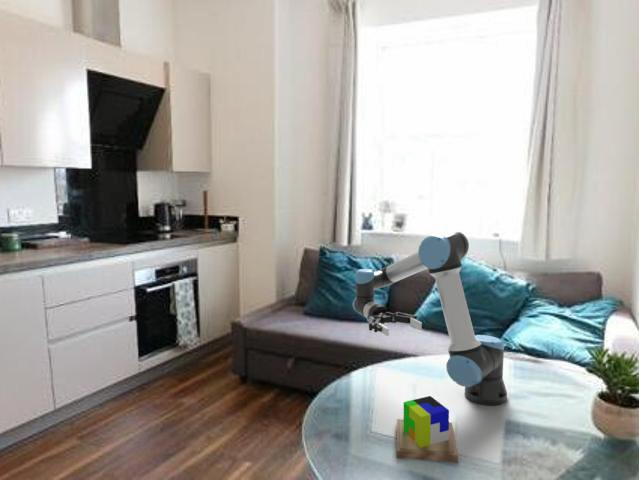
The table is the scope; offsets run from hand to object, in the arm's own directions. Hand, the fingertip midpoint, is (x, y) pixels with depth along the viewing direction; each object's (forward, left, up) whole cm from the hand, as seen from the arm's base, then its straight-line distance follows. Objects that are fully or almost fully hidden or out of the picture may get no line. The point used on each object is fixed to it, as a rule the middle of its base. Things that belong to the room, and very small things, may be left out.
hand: (404, 329), depth 170 cm
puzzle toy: (-6, +23, -27) cm, 36 cm away
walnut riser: (-6, +23, -29) cm, 38 cm away
